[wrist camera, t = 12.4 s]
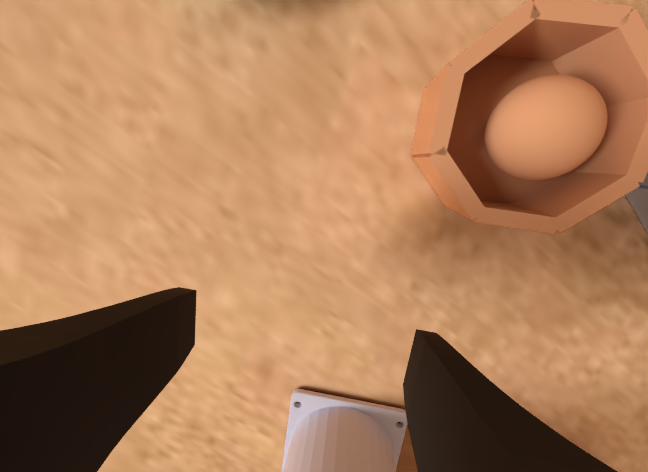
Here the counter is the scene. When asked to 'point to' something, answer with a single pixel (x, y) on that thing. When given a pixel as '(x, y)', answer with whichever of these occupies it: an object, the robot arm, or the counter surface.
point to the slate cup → (640, 202)
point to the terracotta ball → (546, 127)
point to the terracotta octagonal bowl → (516, 68)
